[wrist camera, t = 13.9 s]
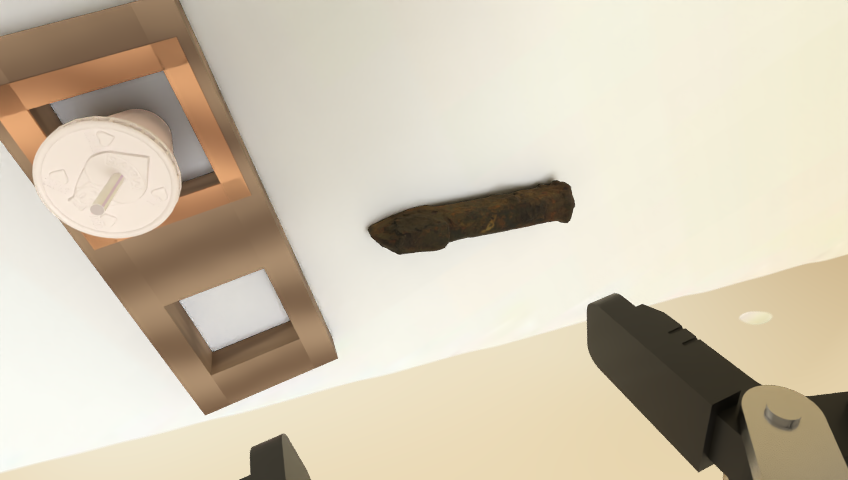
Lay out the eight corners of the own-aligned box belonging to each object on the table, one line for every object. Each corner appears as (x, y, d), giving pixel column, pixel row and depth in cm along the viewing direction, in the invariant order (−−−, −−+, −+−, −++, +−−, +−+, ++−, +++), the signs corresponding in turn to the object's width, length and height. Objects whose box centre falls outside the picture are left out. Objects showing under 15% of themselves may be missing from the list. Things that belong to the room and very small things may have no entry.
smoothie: (214, 148, 34) (202, 228, 22) (138, 197, 33) (85, 306, 22) (145, 68, 30) (86, 112, 18) (59, 122, 30) (-55, 203, 18)
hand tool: (555, 174, 45) (585, 190, 41) (550, 211, 47) (578, 230, 43) (364, 197, 40) (378, 218, 36) (367, 239, 41) (380, 264, 37)
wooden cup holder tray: (-37, 48, 27) (-67, 53, 24) (175, -8, 29) (169, -8, 26) (207, 390, 42) (205, 417, 40) (332, 338, 44) (338, 359, 42)
